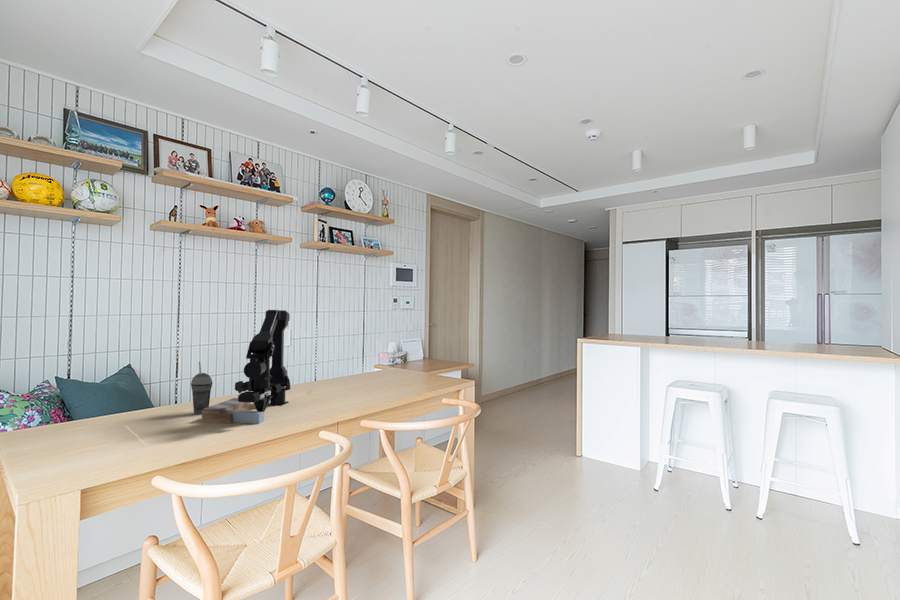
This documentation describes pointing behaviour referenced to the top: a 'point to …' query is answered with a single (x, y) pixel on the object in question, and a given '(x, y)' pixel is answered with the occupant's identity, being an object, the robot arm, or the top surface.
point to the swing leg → (247, 416)
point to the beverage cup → (201, 391)
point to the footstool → (223, 411)
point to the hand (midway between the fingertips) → (260, 416)
